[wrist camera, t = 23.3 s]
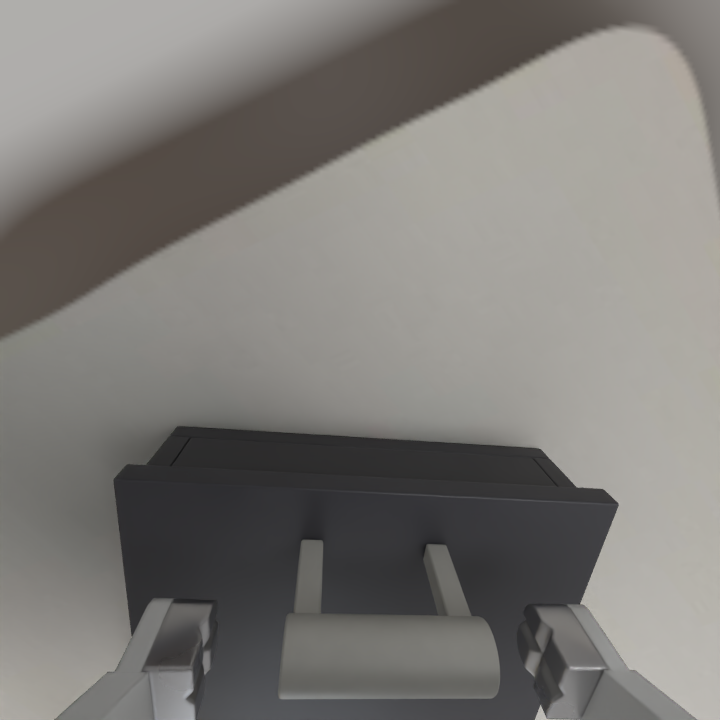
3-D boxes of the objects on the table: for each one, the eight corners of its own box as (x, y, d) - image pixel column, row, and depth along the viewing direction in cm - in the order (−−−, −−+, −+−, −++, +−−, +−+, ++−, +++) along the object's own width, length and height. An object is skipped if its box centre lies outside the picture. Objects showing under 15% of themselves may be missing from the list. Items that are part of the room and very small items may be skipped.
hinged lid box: (177, 425, 15) (129, 484, 12) (540, 448, 17) (596, 507, 13) (189, 670, 20) (158, 766, 16) (474, 671, 21) (502, 759, 18)
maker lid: (126, 463, 11) (-9, 613, 7) (603, 488, 13) (748, 626, 8) (157, 768, 16) (89, 975, 12) (502, 761, 18) (559, 942, 13)
